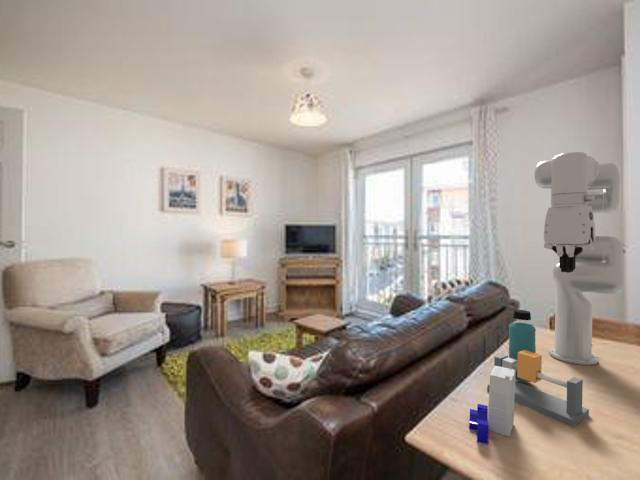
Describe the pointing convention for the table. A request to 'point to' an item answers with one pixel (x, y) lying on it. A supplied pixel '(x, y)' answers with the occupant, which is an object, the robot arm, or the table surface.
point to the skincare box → (501, 400)
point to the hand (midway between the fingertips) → (567, 271)
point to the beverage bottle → (521, 336)
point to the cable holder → (480, 422)
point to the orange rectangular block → (529, 365)
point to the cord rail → (549, 396)
